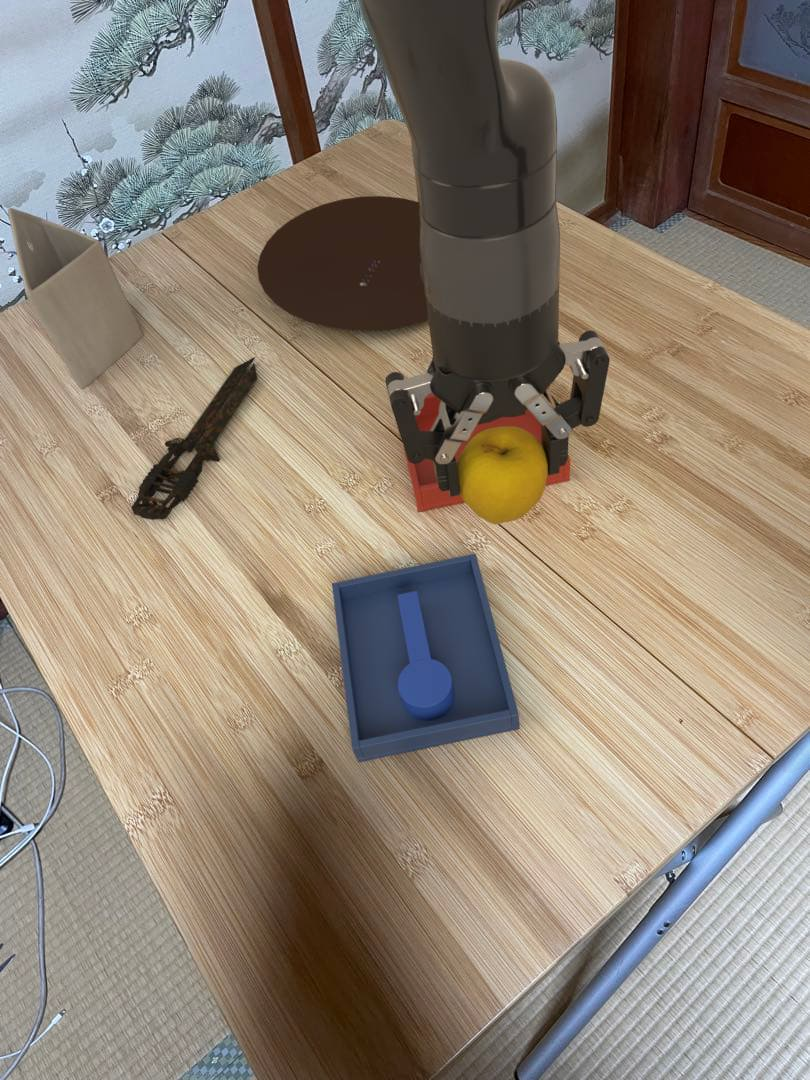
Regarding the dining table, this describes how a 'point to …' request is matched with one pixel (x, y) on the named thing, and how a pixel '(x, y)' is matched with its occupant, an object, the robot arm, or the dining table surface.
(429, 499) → the red tray
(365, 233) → the plate
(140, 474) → the dining table surface
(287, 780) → the dining table surface
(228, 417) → the knife
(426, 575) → the blue tray
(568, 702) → the dining table surface
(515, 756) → the dining table surface
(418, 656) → the spoon
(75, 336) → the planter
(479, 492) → the apple
